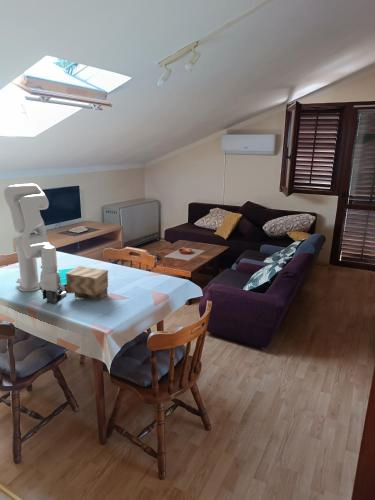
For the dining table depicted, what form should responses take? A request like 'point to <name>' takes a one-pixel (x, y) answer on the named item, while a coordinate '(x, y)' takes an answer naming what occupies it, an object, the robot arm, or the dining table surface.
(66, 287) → the sunglasses case
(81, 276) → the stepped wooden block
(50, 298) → the grey mallet
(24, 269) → the robot arm
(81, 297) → the disc
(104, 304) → the dining table surface
